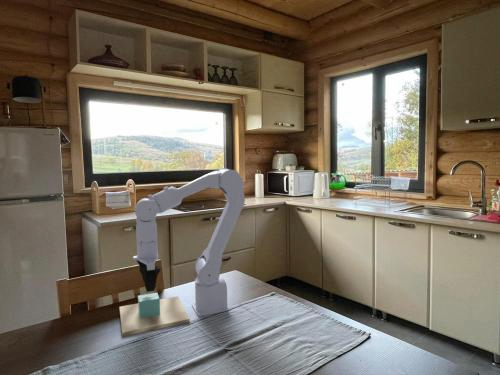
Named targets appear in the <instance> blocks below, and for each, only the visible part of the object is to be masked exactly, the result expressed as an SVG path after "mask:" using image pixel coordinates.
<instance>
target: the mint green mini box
mask: <svg viewBox="0 0 500 375" xmlns="http://www.w3.org/2000/svg"><path fill="white" fill-rule="evenodd" d="M160 299H161V298H160V295H159V294H158V292H152V293H146V294H141V295H140V294H139V295H137V304H138V310H139V316H140V319H141V318H146V317H151V316H156V315H160Z"/></svg>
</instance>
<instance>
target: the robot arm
mask: <svg viewBox="0 0 500 375" xmlns="http://www.w3.org/2000/svg"><path fill="white" fill-rule="evenodd" d="M244 184H245V182H244V180H243V178H242V176H241V174H240V173H239V172H238V171H236V170H235V169H229V168H226V167H224V168H219V169H218V170H214V171H211V172H209V173H207V174H204V175H202V176H200V177H198V178H196V179H194V180H192V181H190V182H188V183H186V184H184V185H182V186H180V187H178V188H177V187H175V186H165V187H163V190H161V191H160V192H159V191H158V192H156V193H154V194H153V195H152V194H149V195H147V197H144V198H142V199H141V198H140V199H139V201H137V203H136V204H135V208H134V214H135V216H136V219H135V223H136V224H135V225H136V226H135V236H136V239H135V240H136V255H134V256H132V260H133V261H136V263H137V265H138V266H139V268H138V270H139V273H140V274H141V277H142V280H143V283H144V286H145V287H144V288H145V290H146V293H149V292H154V291H155V289H156V286H157V285H156V284H157V279H158V276H159V273H160V272H161V268H162V266H156V264H155V263H156V262H157V260H158V259H159V253H158V252H159V251H158V250H159V248H158V247H159V246H158V229H157V228H158V224H157V222H156V216H157V214H163V213H164V212H167V211H168V210H169V211H170V210H171V209H173V208H176V207H177V206H179V205H181V204H182V201H183V199H184V198H187V197H189V196H191V195H193V194H195V193H198V192H201V191H203V190H205V189H208V188H210V189H220V190H221V191H222V192H223V193H222V194H223V195H224V197H225V199H226V204H225V206H224V208H223V210H222V213H221V215H220V217H219V220H218V222H217V224H216V226H215V229H214V231H213V233H212V236H211V238H210V241H209V242H208V245H207V247H206V248H205V249H204V250H203V252H202V253H201V255H200V257H198V258H197V259H196V261H195V263H194V270H195V272H196V273H197V276H196V278H195V279H194V281H195V282H194V286H195V287H194V288H195V289H194V291H195V303H192V304H191V306H192V309H193V310H194V311H195V314H196V315H197V317H203V316H209V315H212V314H218V313H222V312H228V310H229V308H228V286H227V282H226V279H224V278H220V275H221V274H220V273H221V271H220V269H221V266H222V265H223V264H222V261H223V260H222V259H223V255H224V251H225V249H226V247H227V245H228V243H229V240H230V238H231V236H232V233H233V231H234V228H235V226H236V224H237V223H238V222H237V221H238V219H239V217H240V214H241V212H242V210H243V207H244V205H245V202H246V199H245V191H244Z"/></svg>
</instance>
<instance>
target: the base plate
mask: <svg viewBox="0 0 500 375" xmlns="http://www.w3.org/2000/svg"><path fill="white" fill-rule="evenodd" d="M119 316H120V325H121V326H120V328H121V336H122V337H126V336H131V335H135V334H139V333H140V334H141V333H145V332H149V331H150V332H151V331H154V330H155V331H156V330H159V329H163V328H168V327H173V326H177V325H182V324H183V325H184V324H188V323H191V318H190V317H189V314H188V313H187V311H186V309H185V307H184V305H183V303H182V301H181V298H180V297H179V296H172V297H167V298H160V315H156V316H151V317H146V318H141V319H140V316H139V310H138V303H134V304H133V303H132V304H127V305H122V306H119Z"/></svg>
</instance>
